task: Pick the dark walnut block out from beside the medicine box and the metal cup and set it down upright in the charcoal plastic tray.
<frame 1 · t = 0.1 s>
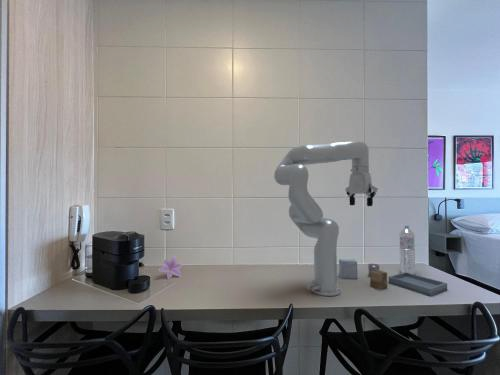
hand: (360, 205, 123), 37 cm above the counter, tool pointing down, fingers open, 9 cm apart
lily: (170, 277, 130), on the counter
metal cup: (373, 276, 129), on the counter
water bottle: (407, 273, 135), on the counter
walnut block: (378, 287, 115), on the counter
medicine box: (348, 277, 129), on the counter
tray: (416, 286, 116), on the counter
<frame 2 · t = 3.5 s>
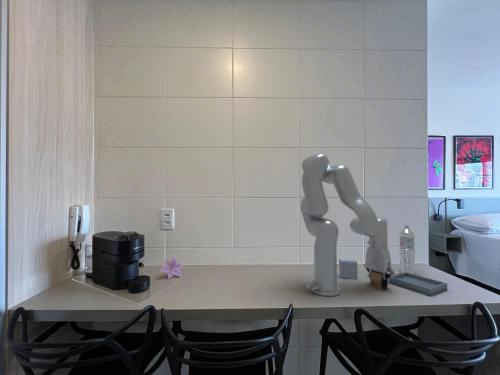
hand: (378, 285, 115), 1 cm above the counter, tool pointing down, fingers closed on walnut block, 5 cm apart
walnut block: (378, 287, 115), on the counter, touching gripper
everything else where it was.
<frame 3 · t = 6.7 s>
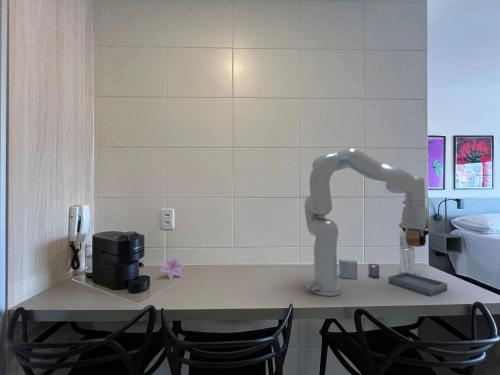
hand: (415, 243, 116), 20 cm above the counter, tool pointing down, fingers closed on walnut block, 5 cm apart
walnut block: (415, 245, 116), point 19 cm above the counter, touching gripper
everything else where it was.
when the fingers open (4 cm above the counter, at t = 10.1 s): walnut block drops 1 cm, resting on tray.
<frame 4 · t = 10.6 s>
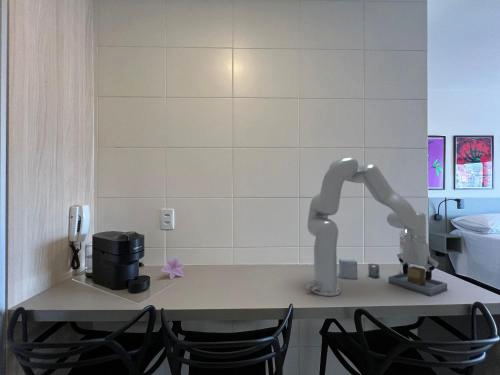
hand: (416, 276, 116), 4 cm above the counter, tool pointing down, fingers open, 9 cm apart
walnut block: (416, 283, 116), point 1 cm above the counter, touching tray
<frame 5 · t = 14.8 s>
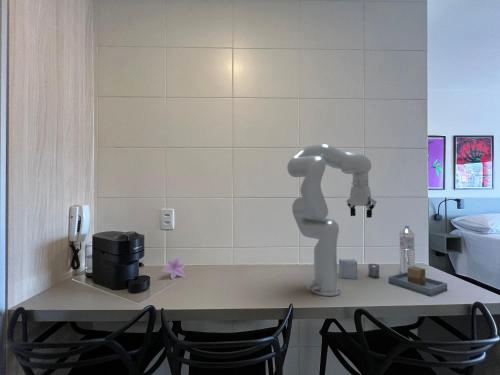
hand: (360, 216, 133), 30 cm above the counter, tool pointing down, fingers open, 9 cm apart
at the end: walnut block inside the target area on the tray (0.1 cm from its centre), point 1.2 cm above the tray's base; walnut block tilted 0°; the gripper is holding nothing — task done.
